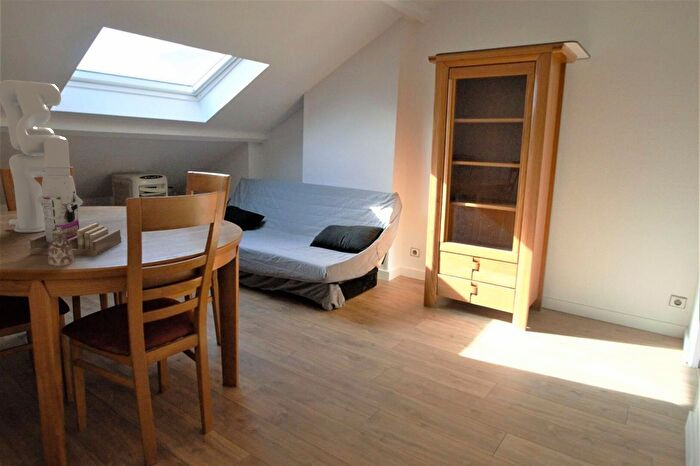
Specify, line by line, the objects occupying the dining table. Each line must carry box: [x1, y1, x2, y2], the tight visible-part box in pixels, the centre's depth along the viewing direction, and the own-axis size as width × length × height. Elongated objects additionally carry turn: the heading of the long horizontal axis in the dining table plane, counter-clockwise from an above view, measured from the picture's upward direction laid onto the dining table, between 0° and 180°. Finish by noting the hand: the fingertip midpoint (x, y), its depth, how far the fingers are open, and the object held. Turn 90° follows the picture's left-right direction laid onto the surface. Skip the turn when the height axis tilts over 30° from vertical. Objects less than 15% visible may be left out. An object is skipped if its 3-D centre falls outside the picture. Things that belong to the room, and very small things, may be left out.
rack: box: [29, 228, 122, 257], centre depth 172 cm, size 22×22×5 cm
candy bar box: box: [42, 197, 80, 243], centre depth 170 cm, size 11×5×16 cm, turn 169°
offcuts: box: [77, 222, 109, 250], centre depth 172 cm, size 5×14×8 cm, turn 5°
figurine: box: [47, 226, 75, 267], centre depth 152 cm, size 7×7×12 cm
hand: (61, 221), depth 171 cm, fingers closed on candy bar box, 5 cm apart
